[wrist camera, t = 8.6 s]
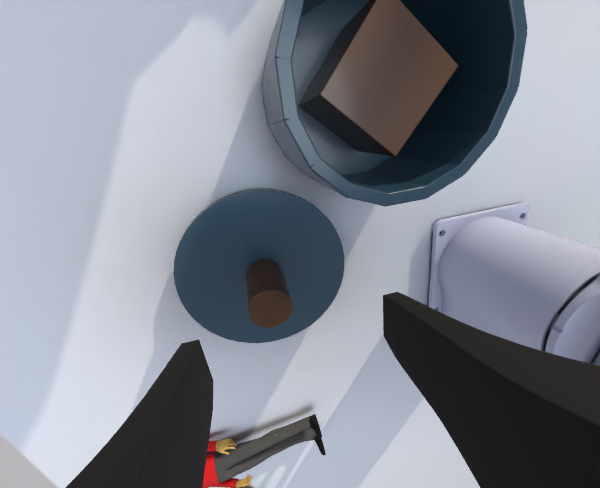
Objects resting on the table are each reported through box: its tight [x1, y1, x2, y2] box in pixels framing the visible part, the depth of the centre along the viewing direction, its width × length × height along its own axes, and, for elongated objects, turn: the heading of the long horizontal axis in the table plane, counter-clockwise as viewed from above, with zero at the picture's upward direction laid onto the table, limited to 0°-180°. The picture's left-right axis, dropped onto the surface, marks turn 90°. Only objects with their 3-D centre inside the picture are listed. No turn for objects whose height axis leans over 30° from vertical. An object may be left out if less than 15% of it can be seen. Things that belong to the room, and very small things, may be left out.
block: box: [299, 0, 458, 156], centre depth 14 cm, size 5×5×5 cm
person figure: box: [203, 414, 326, 488], centre depth 23 cm, size 5×4×18 cm
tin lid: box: [174, 189, 344, 343], centre depth 17 cm, size 11×11×5 cm
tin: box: [262, 0, 527, 206], centre depth 13 cm, size 10×10×6 cm
